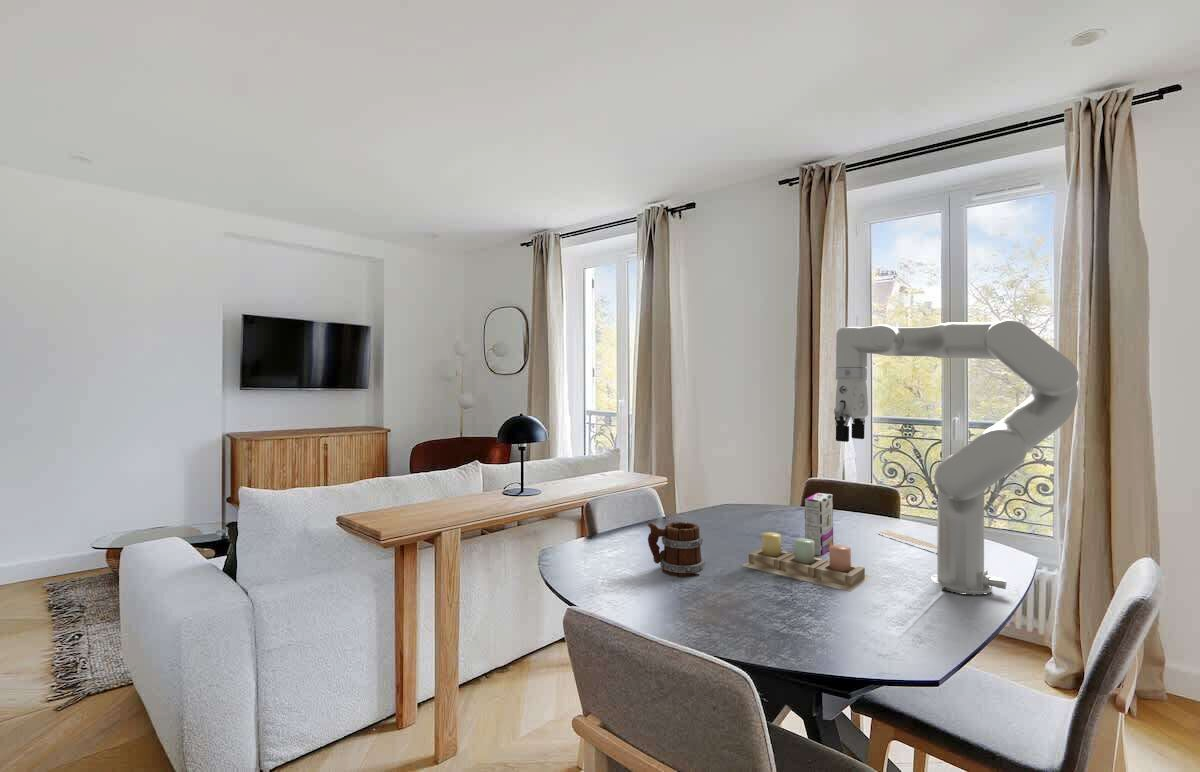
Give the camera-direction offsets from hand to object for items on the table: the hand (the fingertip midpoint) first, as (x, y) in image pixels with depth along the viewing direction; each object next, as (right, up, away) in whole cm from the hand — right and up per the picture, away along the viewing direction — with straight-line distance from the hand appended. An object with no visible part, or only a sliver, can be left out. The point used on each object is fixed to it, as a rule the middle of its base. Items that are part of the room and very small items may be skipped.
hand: (850, 439), depth 155 cm
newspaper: (+30, -34, +24) cm, 52 cm away
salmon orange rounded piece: (-7, -30, -11) cm, 33 cm away
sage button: (-14, -30, -5) cm, 34 cm away
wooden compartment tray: (-14, -34, -5) cm, 37 cm away
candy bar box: (-3, -34, +14) cm, 37 cm away
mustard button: (-20, -30, +1) cm, 36 cm away
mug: (-46, -34, -1) cm, 57 cm away
